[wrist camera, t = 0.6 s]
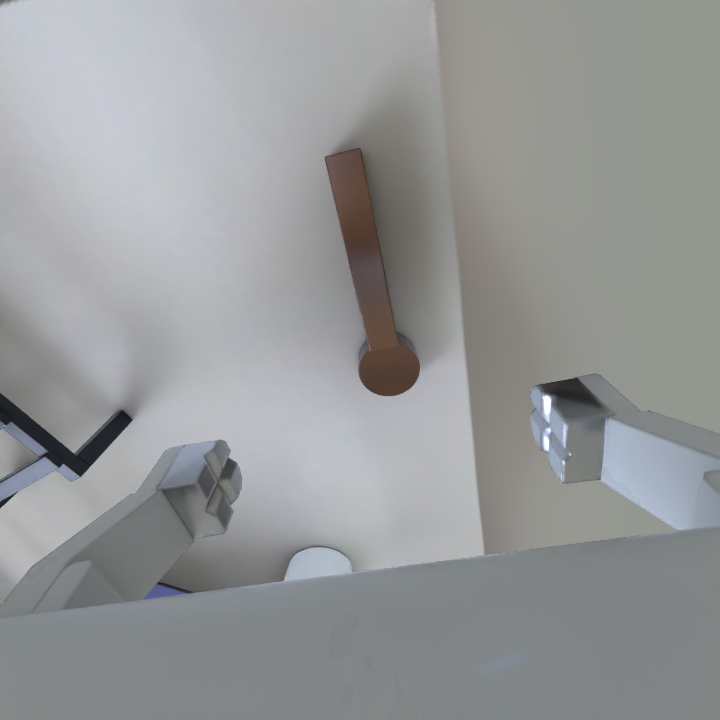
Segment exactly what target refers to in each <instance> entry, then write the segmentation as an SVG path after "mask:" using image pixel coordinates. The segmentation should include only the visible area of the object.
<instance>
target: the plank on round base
mask: <svg viewBox="0 0 720 720" xmlns="http://www.w3.org/2000/svg"><path fill="white" fill-rule="evenodd" d="M325 162H326V166H327V170H328V175H329V179H330V183H331V187H332V192H333V196H334V200H335V205H336V209H337V213H338V217H339V222H340V226H341V230H342V235H343V239H344V243H345V247H346V252H347V256H348V260H349V264H350V269H351V273H352V277H353V282H354V286H355V290H356V294H357V299H358V303H359V307H360V311H361V316H362V320H363V324H364V329H365V333H366V337H367V341H366V342H365V343H364V344H363V346H362V347H361V349H360V352H359V377H360V379H361V381H362V383H363V385H364V386H365V387H366V388H367V389H368V390H370V391H371V392H373V393H375V394H378V395H382V396H395V395H399V394H401V393H403V392H405V391H407V390H408V389H410V388H411V387H412V386H413V385H414V383H415V382H416V380H417V378H418V376H419V372H420V365H419V360H418V357H417V354H416V351H415V348H414V346H413V344H412V343H411V341H410V340H409V339H408V338H406V337H405V336H403V335H401V334H399V333H396V329H395V324H394V319H393V313H392V308H391V303H390V298H389V293H388V288H387V282H386V277H385V272H384V267H383V262H382V257H381V251H380V246H379V241H378V236H377V231H376V226H375V220H374V215H373V210H372V205H371V200H370V194H369V189H368V184H367V179H366V174H365V169H364V163H363V158H362V153H361V149H360V148H357V149H353V150H349V151H345V152H341V153H337V154H333V155H329V156H326V157H325Z"/></svg>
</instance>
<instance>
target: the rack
mask: <svg viewBox="0 0 720 720" xmlns="http://www.w3.org/2000/svg"><path fill="white" fill-rule="evenodd" d="M131 421H132V419H131V418H130V417H129V416H128V415H127V414H126V413H124V412H123V411H120V412H118V413H116V414H115V415H113V416H112V417H111V418H110V419H109V420H108V421H107V422H106V423H105V424H104V425H103V426H102V427H100V428H99V429H98V430H97V431H96V432H95V433H94V434H93V435H92V436H91V437H90V438H89V439H88V440H87V441H86V442H85V443H84V444H83V445H82V446H81V447H80V448H79V449H78V450H77V451H76V452H75V453H73V452H71V451H70V450H69V449H68V448H66V447H65V446H64V445H63V444H62V443H60V442H59V441H58V440H57V439H56V438H54V437H53V436H52V435H51V434H50V433H48V432H47V431H46V430H45V429H43V428H42V427H41V426H40V425H39V424H37V423H36V422H35V421H34V420H33V419H31V418H30V417H29V416H28V415H27V414H25V413H24V412H23V411H22V410H21V409H19V408H18V407H17V406H16V405H14V404H13V403H12V402H11V401H10V400H8V399H7V398H6V397H5V396H4V395H2V394H1V393H0V429H1V428H3V429H5V430H6V431H7V432H8V433H10V434H11V435H12V436H13V437H15V438H16V439H17V440H19V441H20V442H21V443H22V444H24V445H25V446H26V447H27V448H29V449H30V450H31V451H33V452H34V453H35V454H36V455H38V456H39V457H37V458H36V459H34V460H32V461H31V462H29V463H27V464H26V465H24V466H22V467H21V468H19V469H17V470H15V471H14V472H12V473H10V474H9V475H7V476H5V477H4V478H2V479H0V508H1V507H2V506H3V505H4V504H5V503H6V502H8V501H9V500H10V499H11V498H12V497H13V496H14V495H15V494H16V493H17V492H18V491H20V490H21V489H23V488H25V487H27V486H28V485H30V484H32V483H34V482H35V481H37V480H39V479H41V478H42V477H44V476H46V475H48V474H49V473H51V472H53V471H55V470H57V471H58V472H59V473H61V474H62V475H63V476H64V477H66V478H67V479H68V480H69V481H71V482H72V481H74V480H76V479H78V478H80V477H81V476H82V475H83V474H84V473H85V472H86V471H87V470H88V469H89V467H90V466H91V465H92V464H93V463H94V462H95V461H96V460H97V459H98V458H99V457H100V455H101V454H102V453H103V452H104V451H105V450H106V449H107V448H108V447H109V446H110V444H111V443H112V442H113V441H114V440H115V439H116V438H117V437H118V436H119V435H120V434H121V432H122V431H123V430H124V429H125V428H126V427H127V426H128V425H129V424H130V423H131Z"/></svg>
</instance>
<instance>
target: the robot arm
mask: <svg viewBox="0 0 720 720" xmlns="http://www.w3.org/2000/svg"><path fill="white" fill-rule="evenodd" d="M530 400H531V401H532V403H533V404H534V406H535V409H534V410H533V411H532V413H531V414H530V420H531V428H532V433H533V436H534V439H535V441H536V443H537V445H538V447H539V448H540V450H541V451H543V452H545V453H547V454H549V465H550V466H551V468H552V469H553V471H554V473H555V474H556V476H557V477H558V479H559V480H560V482H561V484H568V483H577V482H584V481H592V480H601V482H602V483H604V484H605V485H607V486H609V487H610V488H612V489H613V490H615V491H617V492H618V493H620V494H621V495H623V496H624V497H626V498H628V499H629V500H631V501H632V502H634V503H636V504H637V505H639V506H640V507H642V508H643V509H645V510H647V511H648V512H650V513H651V514H653V515H655V516H657V517H658V518H659V519H661V520H663V521H664V522H666V523H667V524H669V525H670V526H672V527H674V528H675V529H677V531H671V532H662V533H655V534H647V535H639V536H631V537H623V538H616V539H608V540H600V541H593V542H585V543H577V544H569V545H562V546H554V547H547V548H538V549H531V550H523V551H515V552H507V553H499V554H492V555H484V556H476V557H468V558H461V559H453V560H445V561H437V562H430V563H422V564H414V565H406V566H399V567H391V568H383V569H376V570H368V571H360V572H352V573H345V574H337V575H329V576H321V577H314V578H306V579H298V580H291V581H283V582H275V583H267V584H260V585H252V586H244V587H236V588H229V589H221V590H213V591H206V592H198V593H190V594H182V595H175V596H167V597H159V598H152V599H144V598H145V597H146V596H147V594H148V593H149V592H150V591H151V590H152V589H153V588H154V586H155V585H156V584H157V583H158V582H159V581H160V579H161V578H162V577H163V576H164V575H165V574H166V573H167V571H168V570H169V569H170V568H171V567H172V566H173V565H174V563H175V562H176V561H177V560H178V559H179V558H180V557H181V555H182V554H183V553H184V552H185V551H186V550H187V548H188V547H189V546H190V545H191V544H192V543H193V542H194V539H196V538H201V537H207V536H213V535H218V534H224V533H226V530H227V527H228V525H229V522H230V519H231V517H232V514H233V509H232V507H231V504H232V503H233V502H234V501H235V500H236V499H237V498H238V497H239V494H240V491H241V488H242V476H241V471H240V468H239V466H238V464H237V463H236V462H235V461H233V460H232V459H230V458H228V457H229V454H230V451H231V450H230V448H229V447H228V445H227V443H226V441H223V440H215V441H208V442H202V443H195V444H188V445H183V446H177V447H171V448H169V449H167V450H165V452H164V453H163V454H162V456H161V457H160V459H159V460H158V462H157V463H156V465H155V466H154V468H153V469H152V471H151V472H150V474H149V475H148V476H147V478H146V479H145V481H144V482H143V484H142V485H141V487H140V488H139V490H138V491H137V493H135V494H130V495H129V496H127V497H126V498H125V499H123V500H122V501H121V502H119V503H118V504H117V505H115V506H114V507H112V508H111V509H110V510H108V511H107V512H106V513H104V514H103V515H102V516H100V517H99V518H97V519H96V520H95V521H93V522H92V523H91V524H89V525H88V526H87V527H85V528H84V529H82V530H81V531H80V532H78V533H77V534H76V535H74V536H73V537H72V538H70V539H69V540H67V541H66V542H65V543H63V544H62V545H61V546H59V547H58V548H57V549H55V550H54V551H52V552H51V553H50V554H48V555H47V556H46V557H44V558H43V559H42V560H40V561H39V562H37V563H36V564H35V565H33V566H32V567H31V568H30V569H29V571H28V572H27V573H26V574H25V576H24V577H23V578H22V579H21V581H20V582H19V583H18V584H17V586H16V587H15V588H14V589H13V590H12V592H11V593H10V594H9V595H8V597H7V598H6V599H5V600H4V602H3V603H2V604H1V605H0V720H720V434H719V433H716V432H713V431H710V430H707V429H704V428H700V427H697V426H694V425H691V424H688V423H685V422H682V421H679V420H676V419H673V418H670V417H667V416H664V415H661V414H658V413H655V412H652V411H649V410H648V411H642V412H641V411H640V410H639V409H638V408H637V407H636V406H635V405H633V404H632V403H631V402H630V401H629V400H628V399H627V398H626V397H624V396H623V395H622V394H621V393H620V392H619V391H618V390H616V389H615V388H614V387H613V386H612V385H611V384H610V383H609V382H608V381H606V380H605V379H604V378H603V377H602V376H601V375H598V374H590V375H585V376H580V377H575V378H574V379H568V380H562V381H557V382H552V383H546V384H540V385H535V386H532V388H531V391H530ZM143 599H144V600H143Z"/></svg>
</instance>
